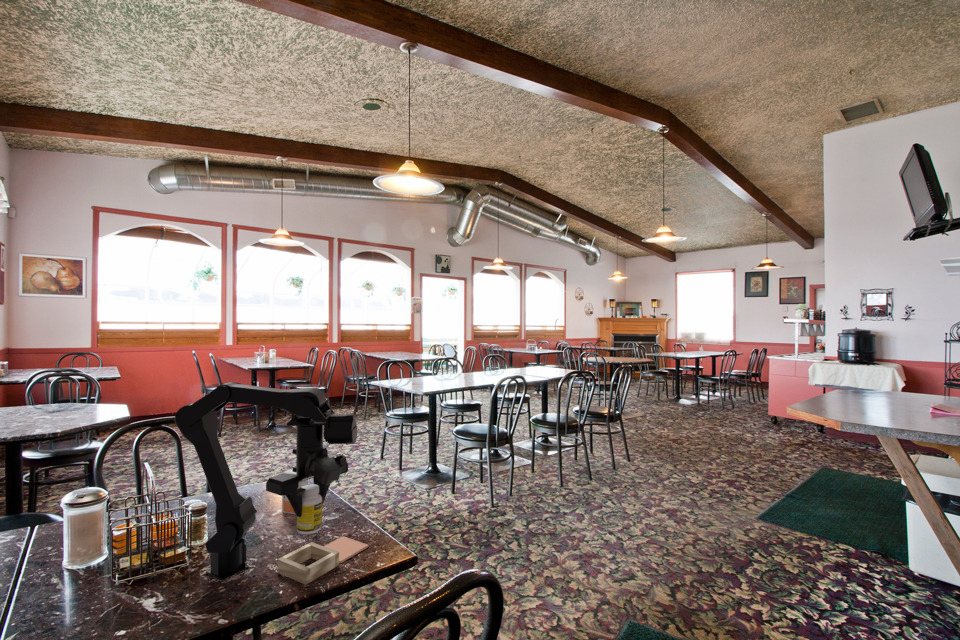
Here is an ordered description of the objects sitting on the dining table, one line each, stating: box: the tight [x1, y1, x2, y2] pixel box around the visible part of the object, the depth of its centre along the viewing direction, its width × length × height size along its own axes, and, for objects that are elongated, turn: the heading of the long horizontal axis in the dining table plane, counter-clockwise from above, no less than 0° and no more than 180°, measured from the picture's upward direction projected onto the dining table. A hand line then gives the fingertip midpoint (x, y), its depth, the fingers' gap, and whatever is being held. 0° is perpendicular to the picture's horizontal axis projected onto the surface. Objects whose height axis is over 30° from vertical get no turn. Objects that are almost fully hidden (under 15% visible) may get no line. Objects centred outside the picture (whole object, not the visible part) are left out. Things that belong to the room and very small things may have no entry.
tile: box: [324, 535, 369, 564], centre depth 116 cm, size 9×9×1 cm
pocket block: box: [277, 541, 340, 585], centre depth 107 cm, size 9×9×3 cm
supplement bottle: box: [296, 483, 323, 535], centre depth 107 cm, size 5×5×10 cm
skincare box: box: [281, 468, 309, 516], centre depth 139 cm, size 6×4×12 cm
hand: (309, 512), depth 108 cm, fingers closed on supplement bottle, 5 cm apart
